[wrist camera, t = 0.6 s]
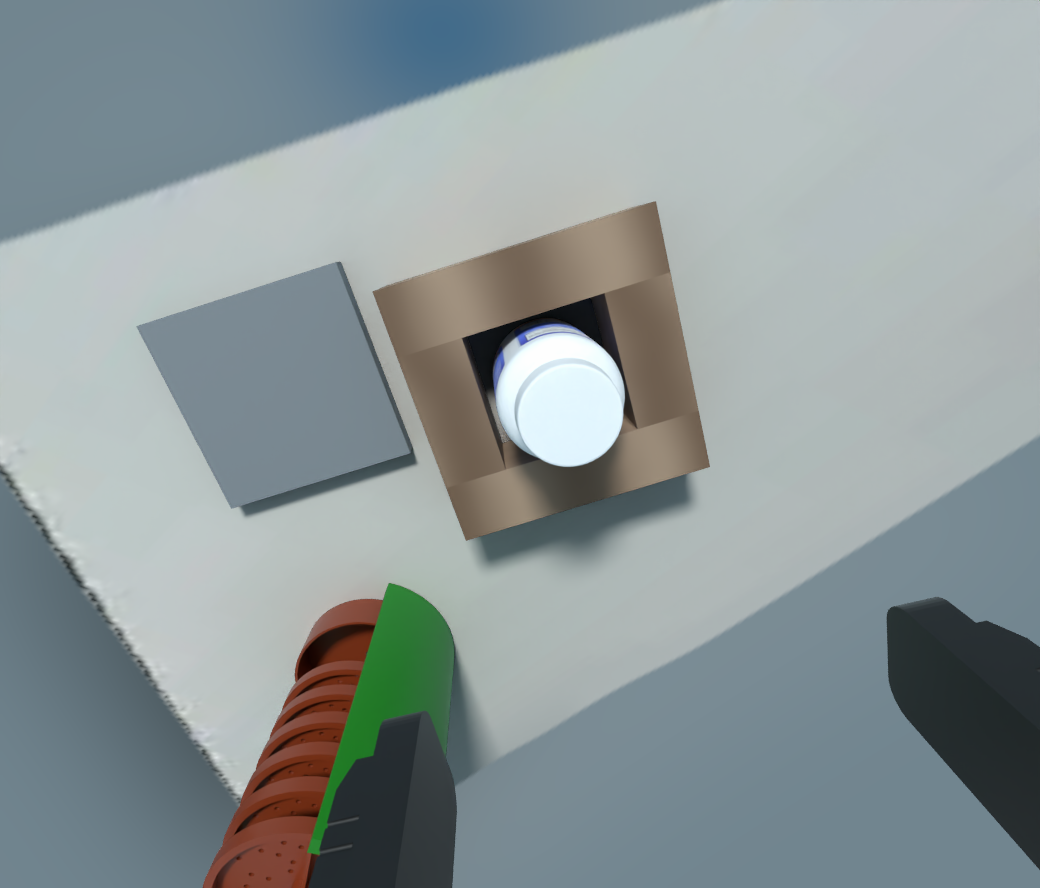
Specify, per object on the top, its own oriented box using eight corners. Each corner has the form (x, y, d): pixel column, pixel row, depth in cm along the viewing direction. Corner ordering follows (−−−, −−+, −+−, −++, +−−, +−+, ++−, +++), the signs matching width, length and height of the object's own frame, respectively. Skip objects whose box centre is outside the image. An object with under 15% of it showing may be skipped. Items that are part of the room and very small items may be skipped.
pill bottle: (548, 437, 32) (576, 514, 23) (470, 375, 30) (467, 430, 21) (615, 361, 31) (674, 409, 21) (538, 293, 29) (565, 314, 20)
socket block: (631, 207, 28) (655, 201, 24) (682, 441, 32) (709, 466, 29) (386, 285, 29) (372, 291, 25) (467, 506, 33) (466, 540, 29)
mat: (340, 261, 28) (335, 262, 27) (412, 447, 31) (410, 453, 30) (147, 323, 28) (136, 326, 27) (238, 500, 32) (231, 508, 31)
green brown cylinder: (336, 564, 33) (150, 977, 14) (479, 612, 35) (481, 1039, 16) (284, 697, 36) (69, 1193, 17) (419, 736, 38) (360, 1226, 19)
